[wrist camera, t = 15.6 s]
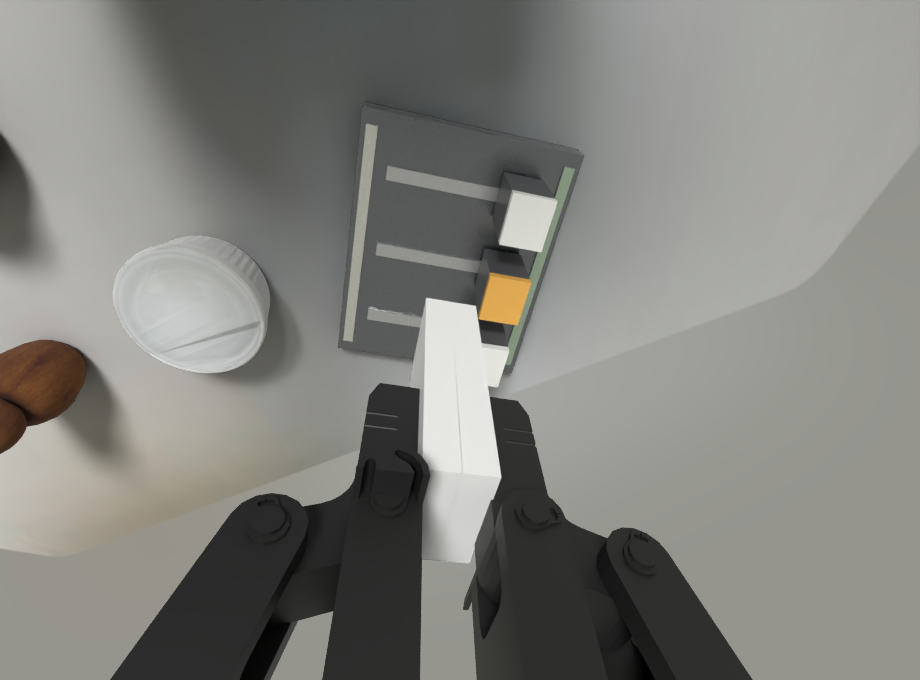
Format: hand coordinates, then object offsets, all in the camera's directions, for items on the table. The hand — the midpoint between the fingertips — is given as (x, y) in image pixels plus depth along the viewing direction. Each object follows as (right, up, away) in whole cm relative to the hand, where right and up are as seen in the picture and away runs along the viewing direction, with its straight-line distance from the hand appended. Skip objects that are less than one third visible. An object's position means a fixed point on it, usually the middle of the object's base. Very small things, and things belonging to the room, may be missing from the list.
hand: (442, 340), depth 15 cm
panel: (0, +7, +27) cm, 28 cm away
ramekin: (-21, +5, +28) cm, 35 cm away
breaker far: (+2, +1, +28) cm, 29 cm away
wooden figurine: (-36, -1, +31) cm, 48 cm away
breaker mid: (+4, +6, +25) cm, 26 cm away
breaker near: (+5, +10, +22) cm, 25 cm away
